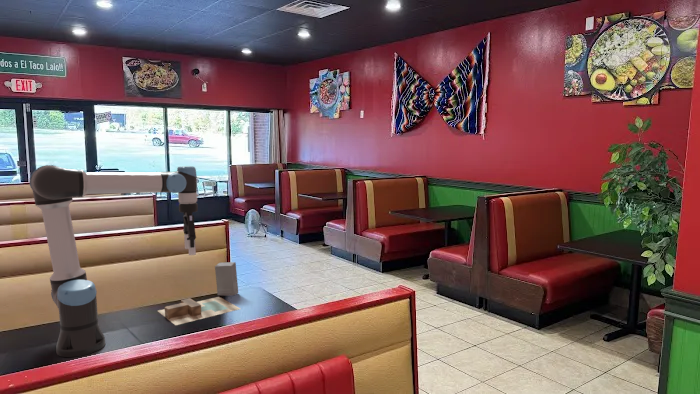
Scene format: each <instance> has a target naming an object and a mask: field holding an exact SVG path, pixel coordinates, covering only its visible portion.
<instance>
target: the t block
mask: <svg viewBox="0 0 700 394" xmlns="http://www.w3.org/2000/svg"><path fill="white" fill-rule="evenodd" d="M197 302H198V301H195V300H193V299H192V298H190V297H189V298H185V299H181V300H180V302H179V303H176V304H175V303H174V304H171V305H166V306H164V309H165V317H164V318H166V317H167V318H168V319H170V318H174V317H178V316H183V315H187V314H189V315H190V316H192V317H193V316H197V315H201V305H200V304H199V303H197ZM167 318H166V319H167ZM168 319H167V320H168Z"/></svg>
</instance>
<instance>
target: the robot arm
mask: <svg viewBox="0 0 700 394" xmlns="http://www.w3.org/2000/svg"><path fill="white" fill-rule="evenodd" d="M196 169H197V168H196V167H195V166H190V165H186V166H177V169H176V170H175V171H152V172H86V171H84V170H83V169H72V168H65V167H60V166H57V165H54V164H53V165H52V164H50V165H48V164H46V165H42V166H39V167H37V168H36V169H34V171H33V172H32V173H31V175H30V177H29V186H30V188H31V190H32V194H33V199H34V205H35V206H36V207H37V208H39V209H40V210H41V215H42V219H43V224H44V230H45V235H46V240H47V244H48V250H49V256H50V261H51V266H52V272H53V274H51V276H50V277H49V282H50V287H51V294H50V295H51V299H52V301H53V303H54V304H55V305H56V307H57V309H58V316H59V325H60V326H59V327H60V330H59V331H60V332H59V335H58V339H57V342H56V346H55V350H56V355H57V356H58V357H63V358H73V357H80V356H87V355H90V354H93V353H95V352H97V351H99V350H101V349H102V348H104V346H106V336H105V334H104V333H103V331H102V328H101V326H100V325H99V317H98V316H99V315H98V314H99V313H98V301H97V299H98V298H97V288H96V284H95V283H94V282H93V281H92V280H88V277H87V273H86V272H87V271H86V270H85V269H83V268H82V267H81V265H80V264H81V263H80V259H79V258H80V257H79V254H78V249H77V243H76V239H75V237H76V235H75V233H74V232H75V230H74V226H73V221H72V216H71V210H70V204H71V203H72V202H73V201H74V199H73V198H84V197H85V196H86V195H104V194H105V195H106V194H107V195H108V194H110V195H112V194H146V193H147V194H151V193H152V194H153V193H163V194H164V193H172V194H177V195H178V197H177V198H178V203H179V204H178V212H179V213H183V216H182V218H183V230H182V231H183V233H184V235H183V236H184V249H185V250H188V256H195V255H196V254H197V252H196V239H197V236H196V228H195V227H196V226H195V225H196V224H195V216H194V215H193V213H196V212H198V209H199V208H198V203H197V202H198V197H199V193H198V190H197V189H198V187H197V186H198V183H197V182H198V181H197V179H198V178H197V177H198V176H197V170H196Z"/></svg>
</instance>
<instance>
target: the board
mask: <svg viewBox="0 0 700 394" xmlns="http://www.w3.org/2000/svg"><path fill="white" fill-rule="evenodd" d="M196 302H197V303H199V304H200V305H201V315H197V316H193V317H192V316H190V315H189V314H187V315H183V316H178V317H174V318H170V319H168V318H167V317H165V308H164V309H159V310H157V312H158V313H159V314H161V315H162V317H164V318H166V320H168V321H169V322H170V323H172V324H173V325H174V326H180V325H183V324H187V323H190V322H191V323H192V322H195V321H198V320H199V321H200V320H202V319H207V318H210V317H211V318H212V317H216V316H218V315H223V314H226V313H230V312H235V311H238V310H239V311H240V310H241V309H242V308H241V307H238V306H237V305H235V304H233V303H232V302H229V301H228V300H226V299H224V298H222V297H220V296H216V297H212V298H207V299H203V300H198V301H196Z"/></svg>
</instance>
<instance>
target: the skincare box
mask: <svg viewBox="0 0 700 394" xmlns="http://www.w3.org/2000/svg"><path fill="white" fill-rule="evenodd" d="M236 264H237V263H236V261H231V262H227V261H226V262H219V263H217V264H216V265H215V266H214V271H215V282H216V292H217V293H216V294H217V296H232V297H233V296H235V295H238V294H239V285H238V274H237V265H236Z"/></svg>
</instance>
